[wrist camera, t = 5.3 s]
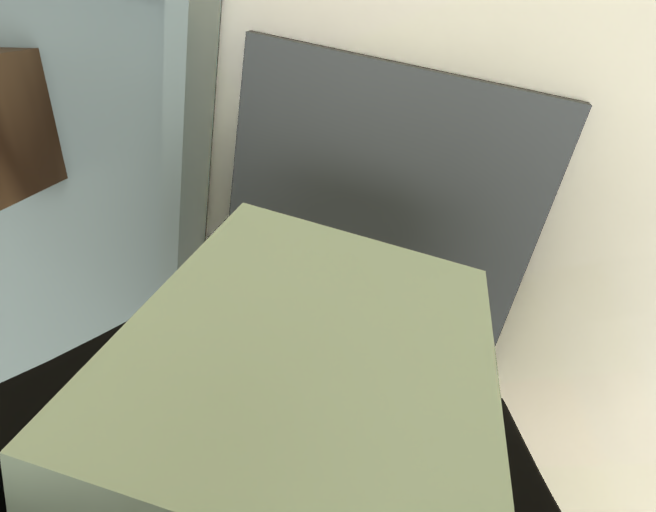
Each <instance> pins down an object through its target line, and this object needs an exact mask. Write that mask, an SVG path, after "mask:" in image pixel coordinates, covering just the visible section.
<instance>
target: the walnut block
mask: <svg viewBox="0 0 656 512" xmlns="http://www.w3.org/2000/svg"><path fill="white" fill-rule="evenodd" d="M67 178H68V176H67V172H66V167H65V163H64V159H63V154H62V150H61V145H60V141H59V136H58V132H57V128H56V123H55V119H54V114H53V110H52V105H51V101H50V97H49V92H48V88H47V83H46V79H45V74H44V70H43V66H42V61H41V57H40V52H39V48H13V47H0V211H1V210H3V209H5V208H7V207H9V206H11V205H14V204H16V203H18V202H20V201H22V200H24V199H26V198H28V197H30V196H32V195H34V194H36V193H38V192H40V191H42V190H44V189H46V188H49V187H51V186H53V185H55V184H57V183H59V182H61V181H63V180H65V179H67Z"/></svg>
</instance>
